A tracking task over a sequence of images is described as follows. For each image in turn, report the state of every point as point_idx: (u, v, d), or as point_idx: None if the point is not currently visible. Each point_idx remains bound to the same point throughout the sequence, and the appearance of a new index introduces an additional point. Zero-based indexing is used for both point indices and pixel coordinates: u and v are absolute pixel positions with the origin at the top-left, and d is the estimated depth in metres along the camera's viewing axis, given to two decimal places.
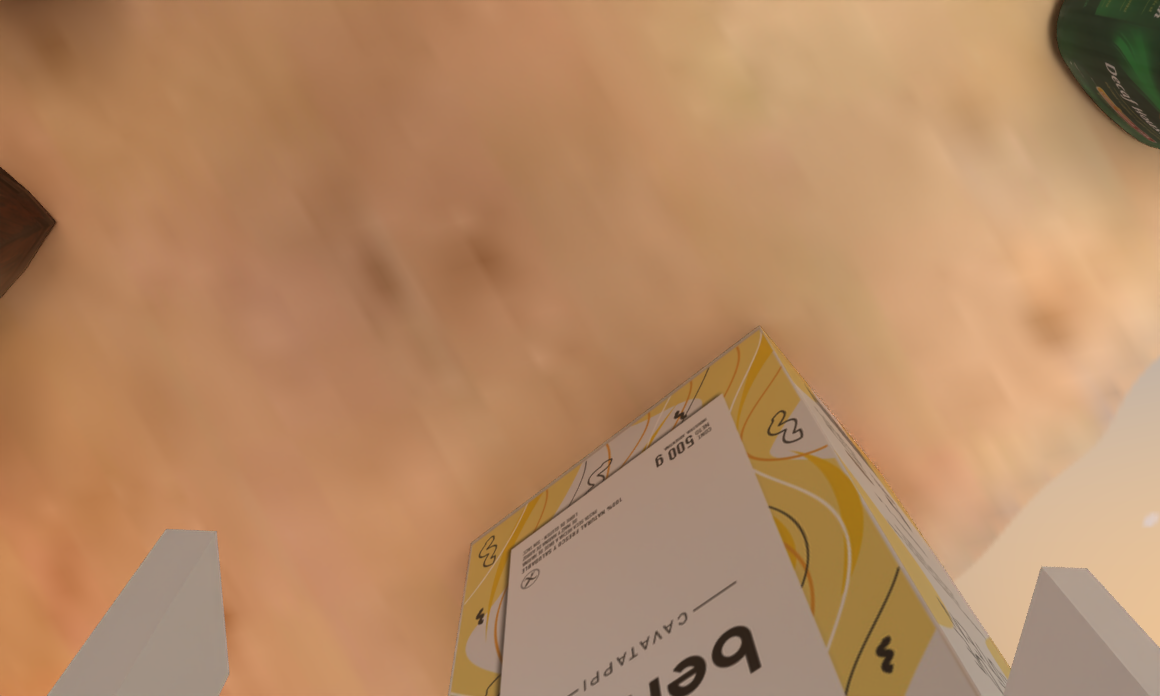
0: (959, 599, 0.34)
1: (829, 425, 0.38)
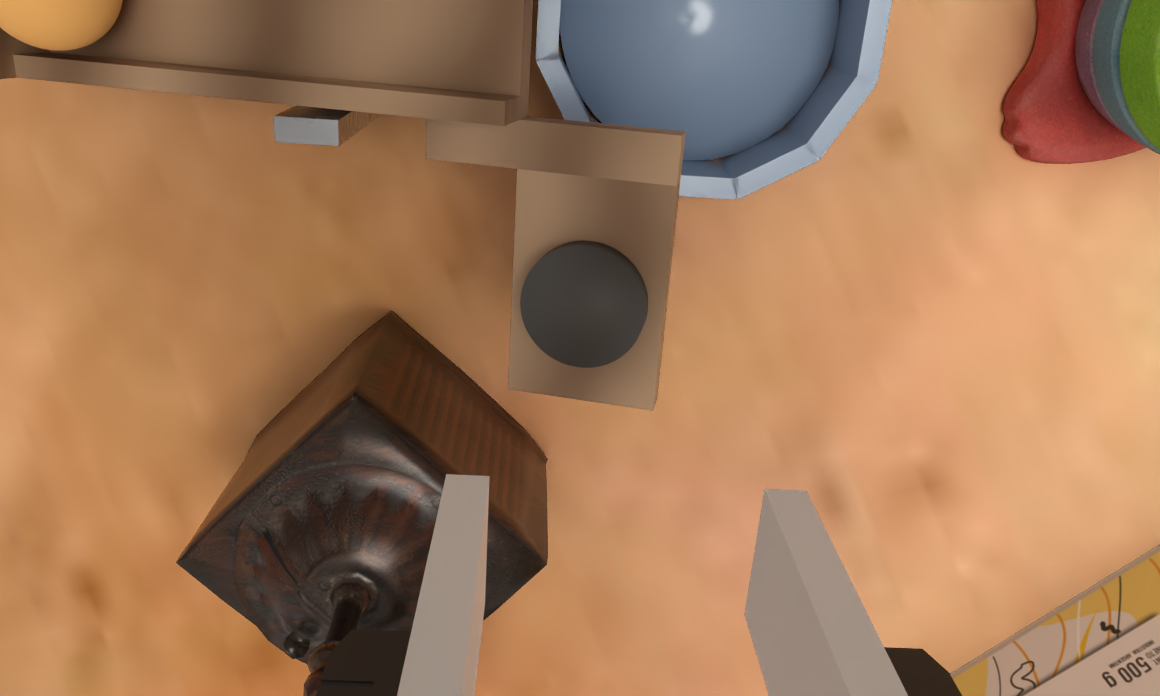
0: None
1: None
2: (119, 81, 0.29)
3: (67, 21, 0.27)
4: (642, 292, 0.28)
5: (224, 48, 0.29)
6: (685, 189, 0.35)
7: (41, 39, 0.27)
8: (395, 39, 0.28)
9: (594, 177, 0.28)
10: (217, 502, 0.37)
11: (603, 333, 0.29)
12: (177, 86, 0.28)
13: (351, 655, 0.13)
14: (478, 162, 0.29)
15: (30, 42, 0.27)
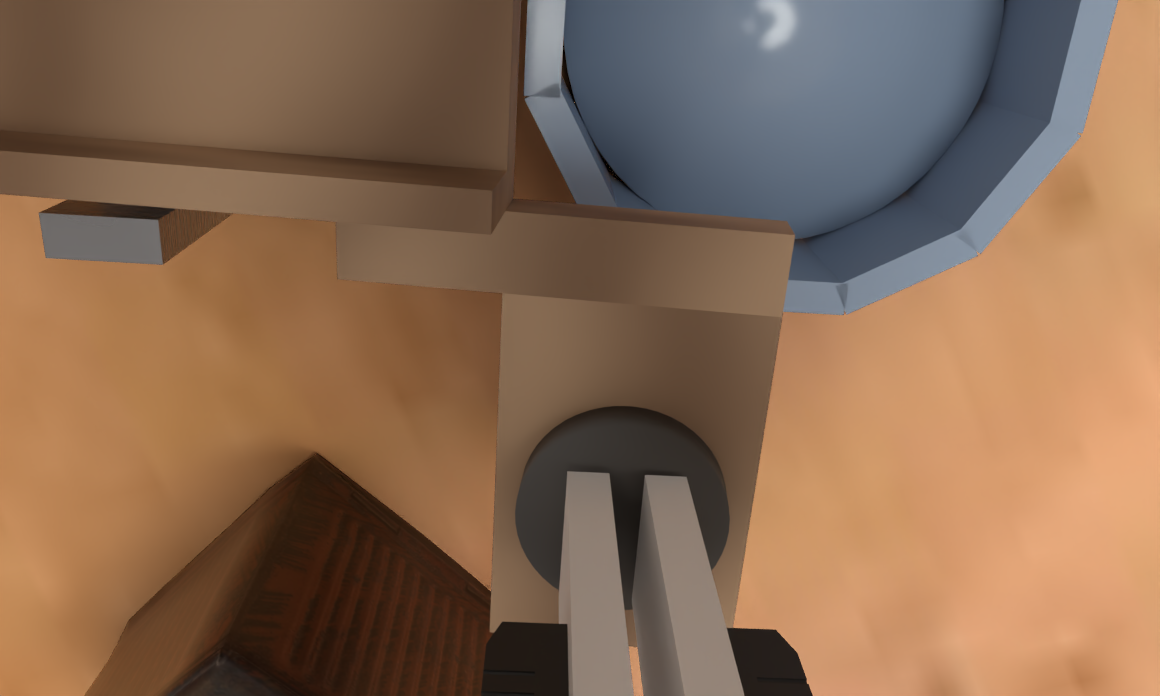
0: None
1: None
2: None
3: None
4: (725, 492, 0.17)
5: None
6: None
7: None
8: (271, 72, 0.15)
9: (639, 305, 0.16)
10: None
11: None
12: None
13: (506, 646, 0.13)
14: (432, 283, 0.17)
15: None
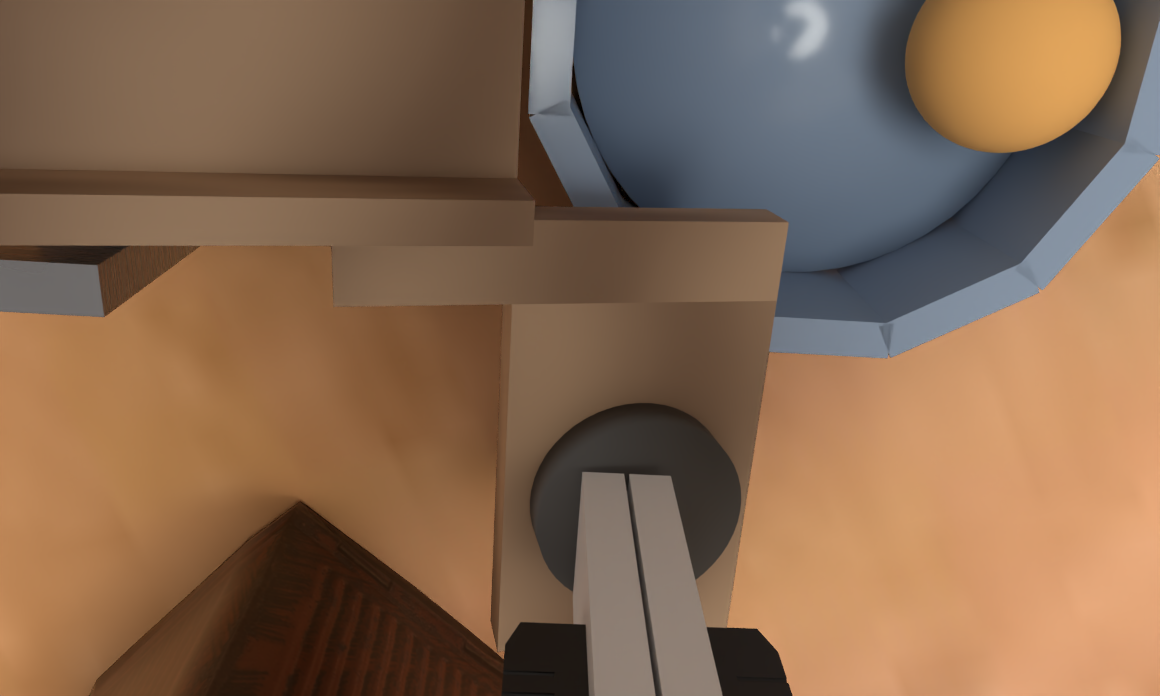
0: None
1: None
2: None
3: (1085, 114, 0.19)
4: None
5: None
6: (797, 341, 0.20)
7: (1043, 142, 0.19)
8: (256, 85, 0.14)
9: (647, 303, 0.17)
10: None
11: None
12: None
13: (526, 646, 0.13)
14: (439, 301, 0.16)
15: (1016, 147, 0.19)
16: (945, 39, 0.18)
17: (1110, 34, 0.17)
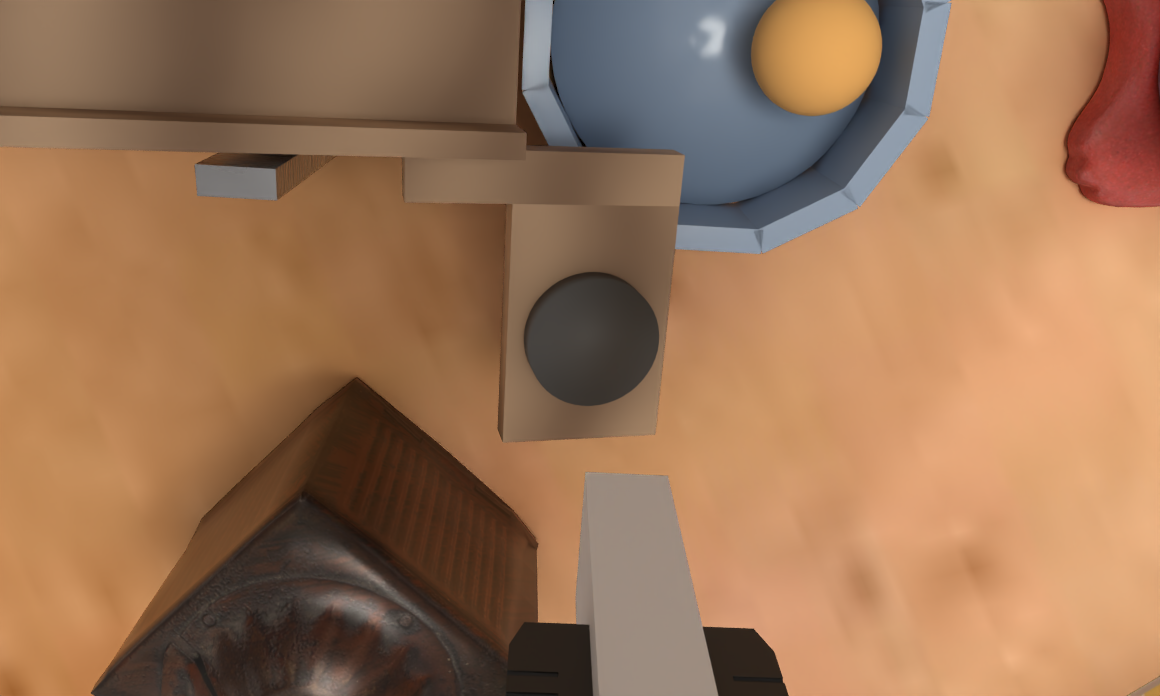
0: None
1: None
2: None
3: (860, 90, 0.28)
4: (655, 318, 0.28)
5: (122, 84, 0.23)
6: (700, 242, 0.30)
7: (828, 107, 0.29)
8: (365, 66, 0.24)
9: (596, 205, 0.27)
10: (146, 611, 0.31)
11: (617, 366, 0.28)
12: (81, 139, 0.21)
13: (530, 647, 0.13)
14: (468, 200, 0.26)
15: (810, 110, 0.29)
16: (758, 40, 0.28)
17: (856, 36, 0.27)
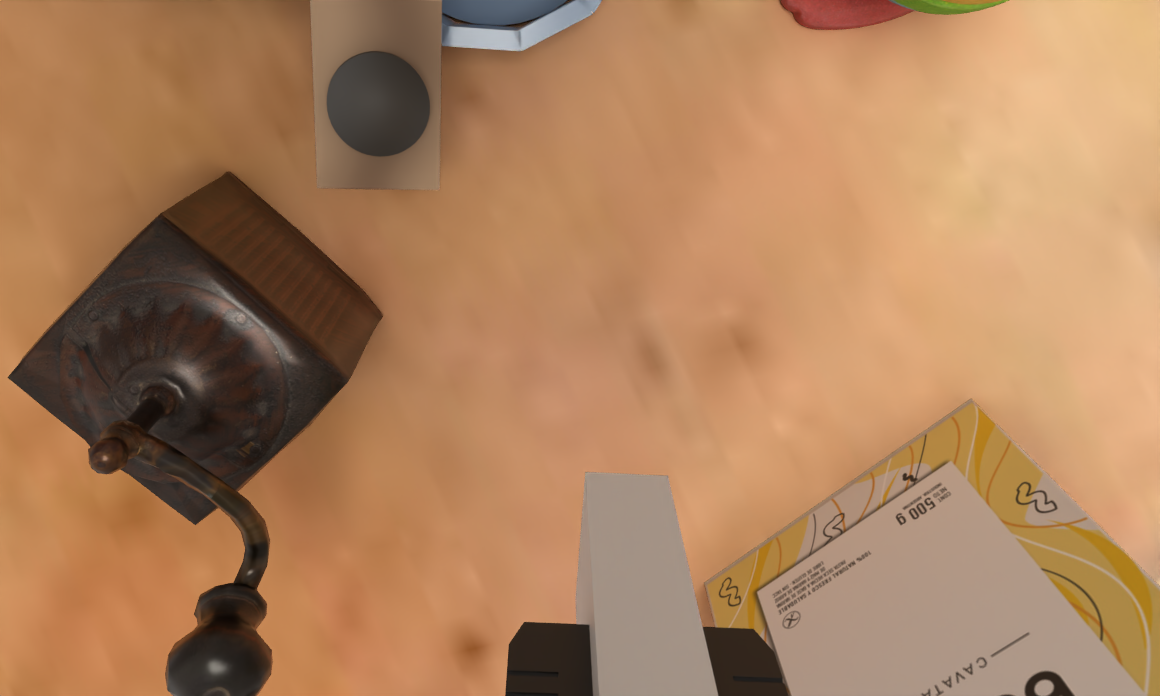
0: None
1: None
2: None
3: None
4: (426, 88, 0.37)
5: None
6: (473, 41, 0.39)
7: None
8: None
9: None
10: None
11: (398, 125, 0.37)
12: None
13: (530, 646, 0.13)
14: None
15: None
16: None
17: None
